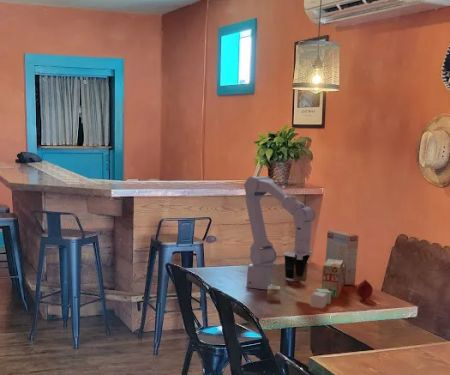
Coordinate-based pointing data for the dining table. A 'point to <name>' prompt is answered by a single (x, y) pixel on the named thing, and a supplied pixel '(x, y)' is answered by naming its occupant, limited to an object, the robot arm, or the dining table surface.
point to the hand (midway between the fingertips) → (300, 274)
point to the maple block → (273, 293)
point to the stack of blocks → (333, 276)
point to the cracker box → (343, 252)
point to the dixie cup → (289, 266)
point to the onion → (364, 290)
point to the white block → (318, 299)
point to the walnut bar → (302, 276)
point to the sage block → (326, 293)
